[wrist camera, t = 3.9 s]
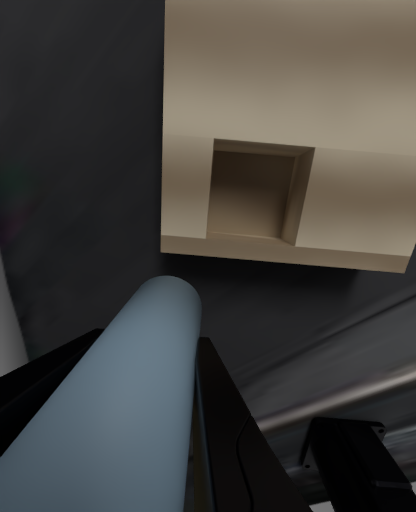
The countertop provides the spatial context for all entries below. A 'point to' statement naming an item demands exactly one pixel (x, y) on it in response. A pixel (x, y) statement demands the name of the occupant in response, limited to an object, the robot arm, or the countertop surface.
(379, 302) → the countertop surface
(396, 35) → the board
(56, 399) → the peg
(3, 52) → the countertop surface
